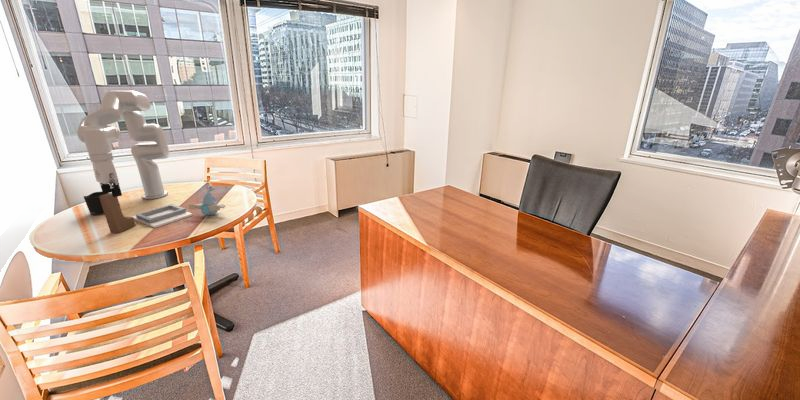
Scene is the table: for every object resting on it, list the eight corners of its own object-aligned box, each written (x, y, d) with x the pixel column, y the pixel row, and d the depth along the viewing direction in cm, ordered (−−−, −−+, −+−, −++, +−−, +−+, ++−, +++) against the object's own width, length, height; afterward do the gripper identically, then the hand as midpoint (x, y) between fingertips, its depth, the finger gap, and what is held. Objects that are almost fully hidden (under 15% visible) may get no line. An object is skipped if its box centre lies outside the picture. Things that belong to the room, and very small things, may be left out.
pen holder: (88, 212, 175) (82, 194, 172) (111, 207, 182) (105, 190, 178) (90, 217, 169) (84, 198, 166) (114, 212, 176) (108, 194, 172)
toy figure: (232, 211, 178) (227, 184, 173) (220, 219, 169) (215, 191, 163) (203, 209, 180) (197, 183, 175) (190, 217, 170) (183, 189, 165)
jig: (131, 218, 168) (130, 213, 167) (169, 207, 183) (168, 202, 182) (154, 228, 158) (153, 222, 157) (192, 215, 173) (191, 210, 172)
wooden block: (128, 224, 161) (118, 189, 155) (136, 225, 160) (126, 190, 154) (110, 232, 153) (98, 195, 146) (118, 233, 152) (106, 196, 146)
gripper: (82, 156, 145) (93, 193, 151) (99, 161, 137) (111, 200, 143) (103, 153, 151) (113, 189, 157) (121, 157, 143) (131, 195, 149)
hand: (112, 194), depth 150 cm, fingers open, 9 cm apart
